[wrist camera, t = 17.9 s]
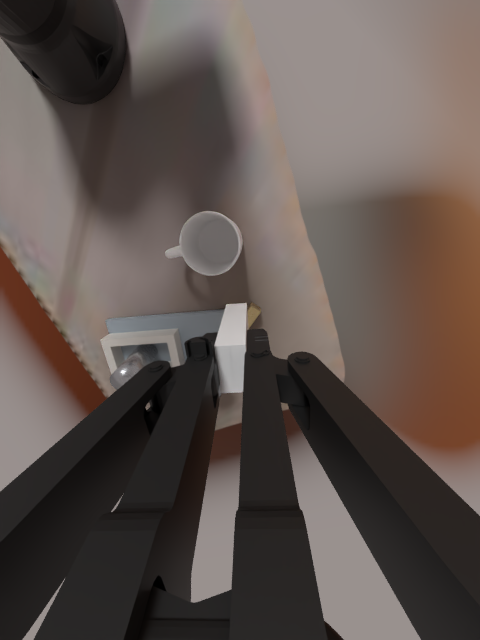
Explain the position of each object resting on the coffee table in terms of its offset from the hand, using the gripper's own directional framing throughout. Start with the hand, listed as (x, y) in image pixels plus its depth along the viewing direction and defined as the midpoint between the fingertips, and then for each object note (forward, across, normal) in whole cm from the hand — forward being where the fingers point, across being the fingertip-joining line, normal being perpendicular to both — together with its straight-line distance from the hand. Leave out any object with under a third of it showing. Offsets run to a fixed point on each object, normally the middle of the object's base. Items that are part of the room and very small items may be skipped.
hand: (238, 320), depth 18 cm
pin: (+25, -21, -15) cm, 36 cm away
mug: (+27, -6, +4) cm, 28 cm away
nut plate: (+26, -16, -16) cm, 35 cm away
